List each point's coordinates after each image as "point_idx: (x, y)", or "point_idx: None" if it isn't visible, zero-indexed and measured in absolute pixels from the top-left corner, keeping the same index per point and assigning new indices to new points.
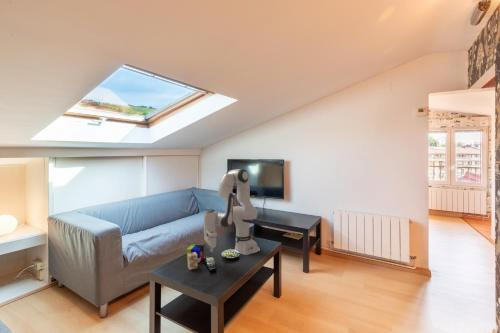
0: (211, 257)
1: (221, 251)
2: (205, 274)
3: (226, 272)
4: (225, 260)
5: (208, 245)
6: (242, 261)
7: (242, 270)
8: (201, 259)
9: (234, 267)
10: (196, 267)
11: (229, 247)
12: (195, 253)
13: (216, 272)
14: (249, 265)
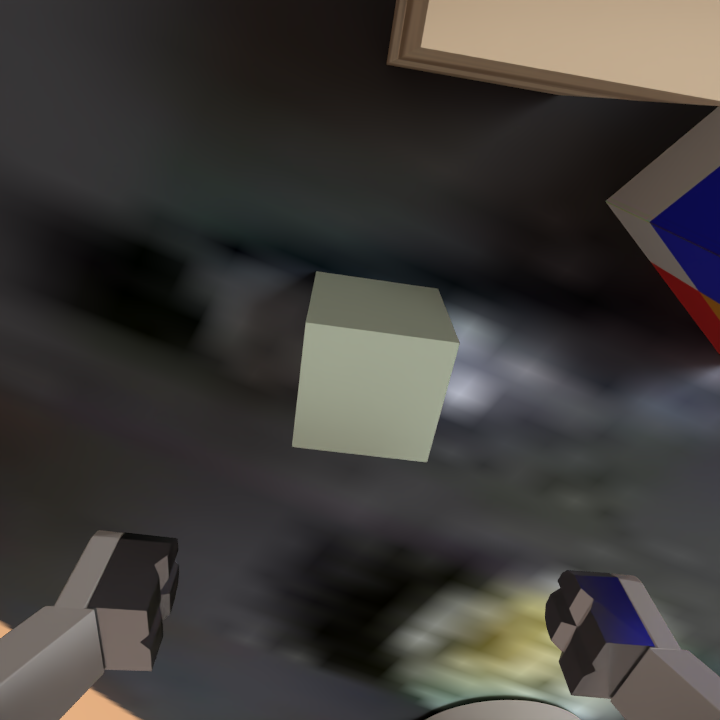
0: (422, 441)
1: (671, 614)
2: (38, 104)
3: (14, 430)
4: (386, 554)
5: (587, 675)
6: (248, 664)
7: (16, 587)
8: (676, 295)
9: None
10: (391, 36)
11: None
12: (641, 37)
13: (59, 313)
14: (118, 673)
